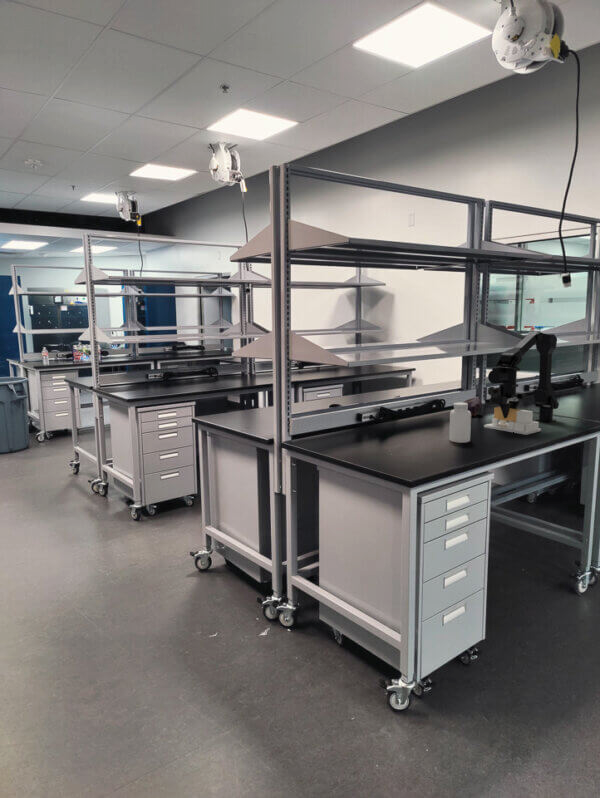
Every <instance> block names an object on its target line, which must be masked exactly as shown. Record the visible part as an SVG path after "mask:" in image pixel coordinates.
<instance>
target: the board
mask: <svg viewBox="0 0 600 798" xmlns="http://www.w3.org/2000/svg"><path fill="white" fill-rule="evenodd" d="M539 422H540V421H536V420H535V421H533V420H532V423H529V424H524V423H518V422H514V421H504V420H499V419H496V418H494V417H493V418H491V423H486V424H484V425H483V427H484V428H485V429H492V430H497V431H502V432H509V433H513V432H514V433H515V434H520V435H525V436H526V435H530V434H531V435H532V434H535V433H538V432H541V431H542V428H539V427H540V426H539Z"/></svg>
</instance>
